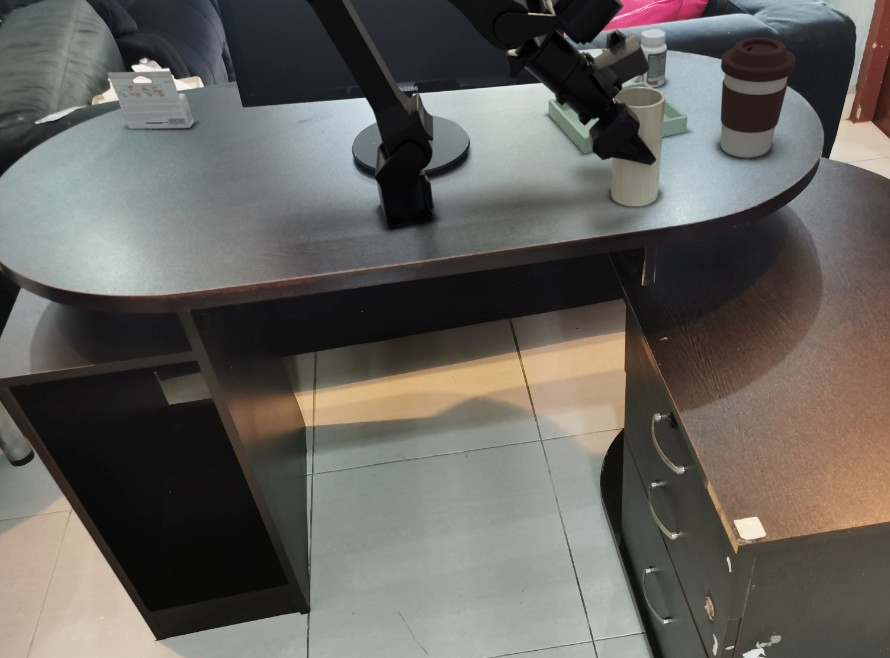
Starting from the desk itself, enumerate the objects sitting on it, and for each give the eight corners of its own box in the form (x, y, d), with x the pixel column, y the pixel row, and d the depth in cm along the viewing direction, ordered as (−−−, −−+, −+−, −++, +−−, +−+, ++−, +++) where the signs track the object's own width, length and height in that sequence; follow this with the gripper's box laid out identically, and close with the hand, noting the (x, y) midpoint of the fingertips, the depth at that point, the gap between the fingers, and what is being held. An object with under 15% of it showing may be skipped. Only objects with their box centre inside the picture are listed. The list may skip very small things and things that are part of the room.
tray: (584, 153, 126) (584, 138, 124) (548, 114, 136) (548, 100, 135) (686, 132, 129) (687, 116, 127) (643, 95, 140) (644, 81, 138)
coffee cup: (793, 152, 122) (813, 49, 112) (738, 169, 120) (754, 65, 109) (750, 127, 129) (765, 27, 119) (698, 143, 126) (708, 42, 116)
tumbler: (622, 210, 113) (627, 111, 104) (604, 189, 118) (606, 92, 108) (665, 200, 114) (673, 101, 105) (645, 180, 119) (651, 83, 109)
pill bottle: (669, 80, 144) (672, 30, 138) (657, 90, 141) (660, 39, 136) (644, 75, 146) (647, 26, 140) (632, 85, 143) (634, 35, 138)
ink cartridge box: (134, 123, 143) (112, 66, 136) (195, 122, 142) (176, 65, 135) (128, 130, 141) (105, 72, 134) (190, 129, 140) (171, 71, 133)
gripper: (624, 47, 93) (711, 132, 100) (599, -6, 106) (677, 73, 114) (555, 121, 98) (643, 196, 106) (539, 61, 112) (618, 132, 119)
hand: (646, 146), depth 111 cm, fingers open, 9 cm apart
